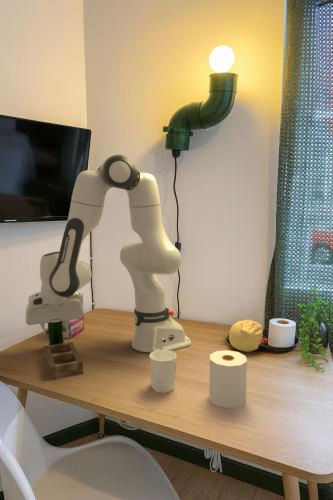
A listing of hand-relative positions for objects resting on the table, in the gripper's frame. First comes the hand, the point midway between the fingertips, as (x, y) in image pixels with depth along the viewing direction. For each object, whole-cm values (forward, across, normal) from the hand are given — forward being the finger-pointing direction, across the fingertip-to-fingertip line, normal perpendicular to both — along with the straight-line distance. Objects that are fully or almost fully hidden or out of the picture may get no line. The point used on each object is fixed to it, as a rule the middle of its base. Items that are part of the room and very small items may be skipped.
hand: (55, 332), depth 141 cm
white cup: (+6, -25, +42) cm, 49 cm away
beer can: (+6, 0, 0) cm, 6 cm away
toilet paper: (+6, -39, +55) cm, 68 cm away
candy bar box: (+6, -8, -13) cm, 17 cm away
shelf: (+6, 0, +15) cm, 16 cm away
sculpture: (+6, -64, +28) cm, 70 cm away
